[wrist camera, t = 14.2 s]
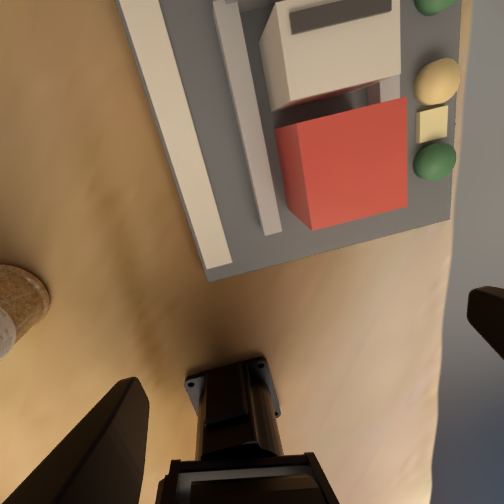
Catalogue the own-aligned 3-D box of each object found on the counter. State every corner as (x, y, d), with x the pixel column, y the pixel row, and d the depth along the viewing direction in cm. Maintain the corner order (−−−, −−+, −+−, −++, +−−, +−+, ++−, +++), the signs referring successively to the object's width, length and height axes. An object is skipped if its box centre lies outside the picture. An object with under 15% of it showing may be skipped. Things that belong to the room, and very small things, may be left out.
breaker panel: (436, 215, 19) (477, 228, 16) (208, 274, 18) (207, 299, 15) (451, -250, 11) (535, -392, 8) (64, -169, 11) (7, -288, 8)
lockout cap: (359, 191, 16) (407, 206, 12) (288, 209, 16) (312, 231, 12) (353, 109, 15) (406, 96, 11) (273, 129, 14) (296, 123, 10)
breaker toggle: (352, 92, 14) (403, 72, 10) (271, 112, 14) (291, 100, 10) (347, 21, 13) (402, -29, 9) (258, 42, 13) (276, 0, 9)
